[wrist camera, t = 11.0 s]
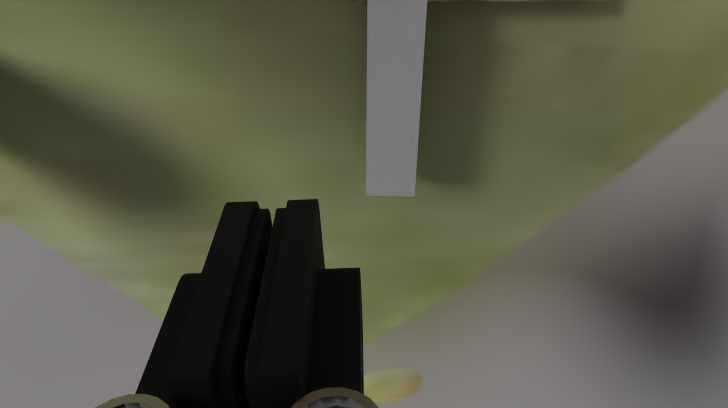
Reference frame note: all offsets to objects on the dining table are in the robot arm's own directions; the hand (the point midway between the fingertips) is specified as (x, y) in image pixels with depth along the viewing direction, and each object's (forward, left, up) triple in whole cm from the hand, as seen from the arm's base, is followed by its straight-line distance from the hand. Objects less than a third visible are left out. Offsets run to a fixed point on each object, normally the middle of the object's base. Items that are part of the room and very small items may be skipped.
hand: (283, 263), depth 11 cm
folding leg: (+3, -4, -24) cm, 25 cm away
